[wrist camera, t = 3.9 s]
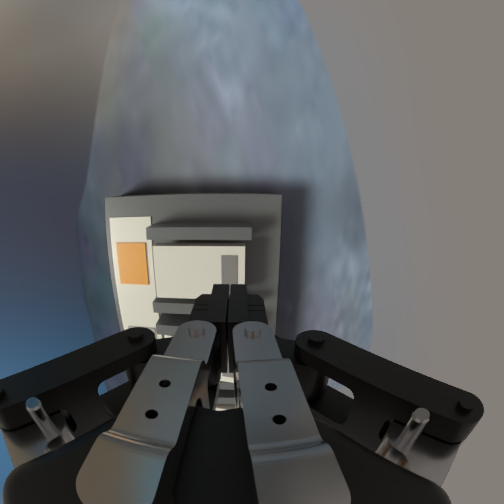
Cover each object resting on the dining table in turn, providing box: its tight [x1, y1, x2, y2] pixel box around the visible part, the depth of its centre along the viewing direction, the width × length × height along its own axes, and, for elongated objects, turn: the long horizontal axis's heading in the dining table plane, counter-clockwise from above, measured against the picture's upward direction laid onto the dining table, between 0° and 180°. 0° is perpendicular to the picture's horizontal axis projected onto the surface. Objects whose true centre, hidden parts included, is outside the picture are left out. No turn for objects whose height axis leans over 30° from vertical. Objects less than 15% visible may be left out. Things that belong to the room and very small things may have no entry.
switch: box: [153, 243, 245, 299], centre depth 18 cm, size 4×6×1 cm, turn 89°
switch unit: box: [105, 193, 282, 404], centre depth 21 cm, size 24×13×5 cm, turn 179°
